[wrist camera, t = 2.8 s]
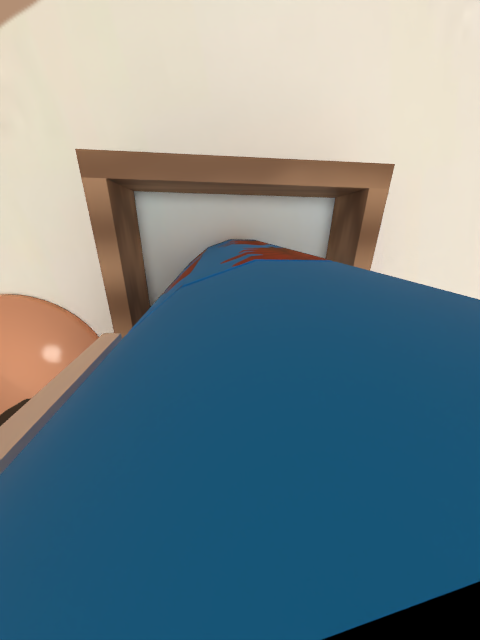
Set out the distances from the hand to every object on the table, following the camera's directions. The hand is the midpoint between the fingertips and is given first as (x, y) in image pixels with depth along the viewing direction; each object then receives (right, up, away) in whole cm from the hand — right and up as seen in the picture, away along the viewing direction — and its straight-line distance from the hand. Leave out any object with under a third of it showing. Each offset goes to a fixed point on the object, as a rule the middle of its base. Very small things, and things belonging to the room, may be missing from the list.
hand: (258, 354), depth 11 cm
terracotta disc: (-23, -3, +13) cm, 27 cm away
